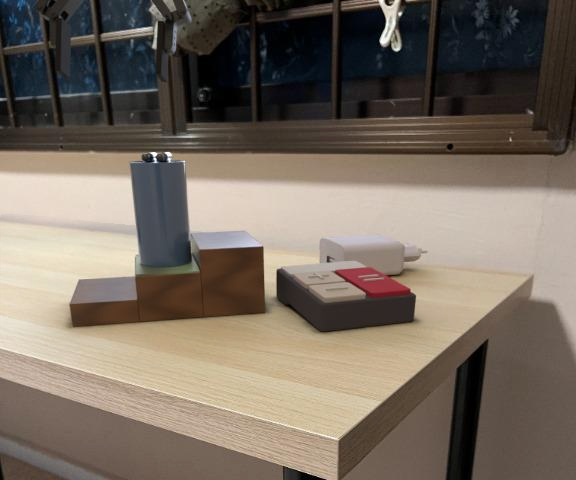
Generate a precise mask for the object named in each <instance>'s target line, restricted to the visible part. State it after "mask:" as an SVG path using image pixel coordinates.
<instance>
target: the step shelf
mask: <svg viewBox="0 0 576 480" xmlns="http://www.w3.org/2000/svg"><path fill="white" fill-rule="evenodd" d="M190 238H191V252H192V262H191V263H189V264H186V265H181V266H174V267H147V266H143V265H141V264H140V262H139V253H138V254H135V256H134V275H133V276H132V275H131V276H119V277H118V276H116V277H99V278H81V279H78V281H77V284H76V285H75V289H74V291H73V294H72V297H71V299H70V302H69V305H68V306H69V311H70V318H71V323H72V327H85V326H87V327H88V326H100V325H115V324H127V323H128V324H129V323H140V322H153V321H167V320H182V319H193V318H194V319H195V318H209V317H223V316H237V315H250V314H252V315H253V314H262V313H263V314H265V313H266V289H265V286H266V285H265V250H264V249H265V248H264V245H262V244H261V243H260V242H259V241H258V240H257V239H255V238H254V237H253V236H252V235H251V234H250V233H249V232H248V231H247V230H232V231H231V230H230V231H229V230H228V231H206V232H190Z"/></svg>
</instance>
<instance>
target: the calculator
mask: <svg viewBox="0 0 576 480" xmlns="http://www.w3.org/2000/svg"><path fill="white" fill-rule="evenodd" d="M275 273H276V275H275V276H276V277H275V281H276V283H275V285H276V287H275V288H276V289H275V290H276V291H275V293H276V298H277V299H278V300H279V301H280V302H281V303H282V304H284V305H285V306H291V307H292V308H294V309H295V310H296V311H297V312H298V313H299V314H300V315H302V316H303V317H304V318H305V319H306V320H307V321H309V323H311V324H312V325H313V326H314V327H315V328H316V329H317V330H318V331H320V332H322V333H325V332H333V331H342V330H350V329H359V328H369V327H377V326H383V325H393V324H402V323H410V322H414V321H415V313H416V303H417V295H416V294H415V293H414V292H412V291H411V288H410V287H408V286H406V285H405V284H402V283H400V282H399V281H397V280H395V279H393V278H391V277H390V276H389V275H384V274H382V273H380V272H379V271H377V270H375V269H373V268H371V267H366V266H365V265H363V264H361V263H359V262H357V261H344V262H331V263H320V262H318V263H309V264H295V265H283V266H281V267H280V268H277V269H276V271H275Z"/></svg>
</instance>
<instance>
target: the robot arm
mask: <svg viewBox="0 0 576 480" xmlns="http://www.w3.org/2000/svg"><path fill="white" fill-rule="evenodd" d="M84 1H85V0H37V1H36V3H35V7H34V8H35V10H36V12H37V13H39V14H40V16H41V17H42V18H44V19H45V20H46V21H49V43H50V46H51V47H52V48H54V49H55V51H54V52H55V54H54V55H55V56H54V57H55V58H54V70H55V72H56V73H58V75H60V76H61V77H62V78H64V79H70V78H71V54H72V53H71V49H72V48H71V47H72V46H71V45H72V27H71V25H70V24H69V23H68V21H69V20H70V18H71V17H72V16H73V15H74V14H75V13H76V11H77V10H78V9H79V7H80V6H81V5H82V4H83V2H84ZM150 1H151V3H152V4H153V6H154V7H155V9H156V10H157V11H158V13H159V14H160V16H161V17H162V19H163V20H157V23H156V24H157V27H156V30H157V31H156V47H155V49H156V51H155V52H156V53H155V76H156V77H157V78H158V79H159V80H160V82H161V83H168V76H169V56H170V54H171V55H173V54H175V52H176V51H177V33H178V28H179V27H180V26H182V25H186V26H187V25H190V24H191V23H192V21H193V19H192V15H191V14H190V11H189V9H188V7H187V4H186V1H185V0H172V1H173V4H174V7H175V9H176V10H173V11H172V10H171V9H170V8H169V7H168V5H167V4H166V2H165V1H164V0H150Z"/></svg>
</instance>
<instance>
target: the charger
mask: <svg viewBox="0 0 576 480" xmlns="http://www.w3.org/2000/svg"><path fill="white" fill-rule="evenodd" d="M428 252H429V251H428V250H427V249H425V250H423V249H422V248H420V247H419V248H418V247H417V246H416V245H414V244H411V243H403V242H400V241H398V240H396V239H393V238H390V237H387V236H384V235H380V234H377V233H376V234H361V235H347V236H346V235H344V236H328V237H321V238H320V240H319V263H331V262H344V261H357V262H359V263H361V264H363V265H365V266H366V267H371V268H373V269H375V270H377V271H379V272H380V273H382V274H384V275H386V276H395V275H400V274H401V272H403V271H404V265H405V264H404V263H411V262H412V263H413V262H416V261H418V260H419V259H421V257H422V254H428Z"/></svg>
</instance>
